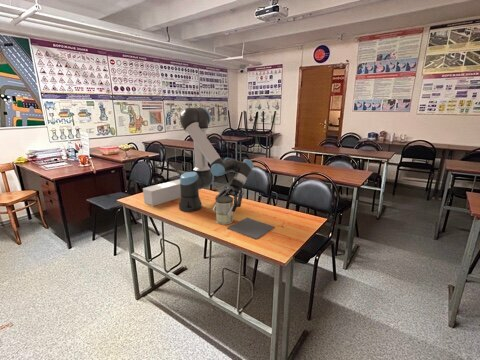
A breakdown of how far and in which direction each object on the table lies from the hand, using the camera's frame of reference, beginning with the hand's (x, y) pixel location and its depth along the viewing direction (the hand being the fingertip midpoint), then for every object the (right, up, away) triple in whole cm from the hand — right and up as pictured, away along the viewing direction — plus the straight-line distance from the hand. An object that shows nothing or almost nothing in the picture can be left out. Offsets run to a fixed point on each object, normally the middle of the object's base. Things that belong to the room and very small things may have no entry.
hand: (221, 213), depth 154 cm
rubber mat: (+17, -8, -5) cm, 20 cm away
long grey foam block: (-42, +5, +41) cm, 60 cm away
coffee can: (+2, -5, +4) cm, 7 cm away
